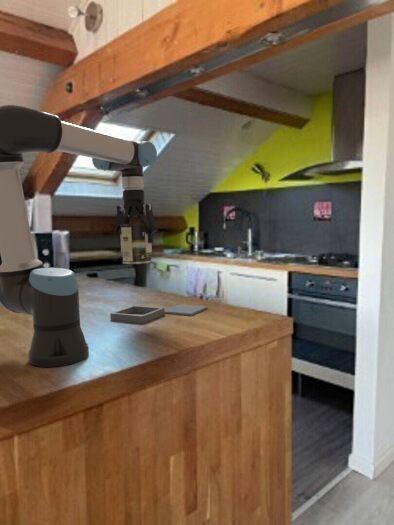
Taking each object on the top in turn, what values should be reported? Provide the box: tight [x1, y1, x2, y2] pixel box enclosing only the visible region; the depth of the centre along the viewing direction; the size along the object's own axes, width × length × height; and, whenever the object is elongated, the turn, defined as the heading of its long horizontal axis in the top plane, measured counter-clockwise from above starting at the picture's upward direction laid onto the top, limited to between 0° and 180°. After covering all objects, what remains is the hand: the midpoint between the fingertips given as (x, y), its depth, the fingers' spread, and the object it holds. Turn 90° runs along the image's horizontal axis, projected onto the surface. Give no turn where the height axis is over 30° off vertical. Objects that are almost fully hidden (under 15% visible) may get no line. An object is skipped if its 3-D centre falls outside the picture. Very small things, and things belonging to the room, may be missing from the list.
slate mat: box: [164, 303, 208, 317], centre depth 163 cm, size 13×13×1 cm
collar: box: [109, 305, 165, 324], centre depth 155 cm, size 14×14×2 cm
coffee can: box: [120, 222, 152, 265], centre depth 152 cm, size 10×10×14 cm
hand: (136, 252), depth 153 cm, fingers closed on coffee can, 10 cm apart
